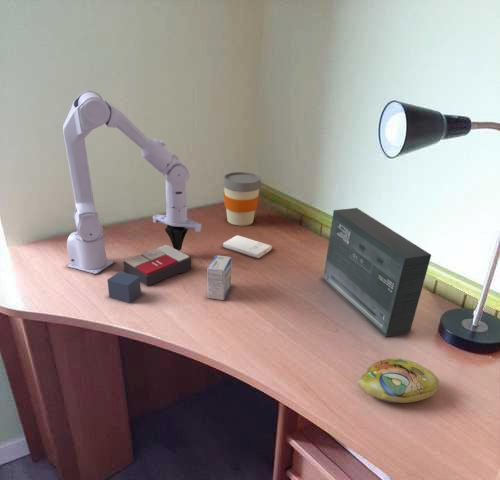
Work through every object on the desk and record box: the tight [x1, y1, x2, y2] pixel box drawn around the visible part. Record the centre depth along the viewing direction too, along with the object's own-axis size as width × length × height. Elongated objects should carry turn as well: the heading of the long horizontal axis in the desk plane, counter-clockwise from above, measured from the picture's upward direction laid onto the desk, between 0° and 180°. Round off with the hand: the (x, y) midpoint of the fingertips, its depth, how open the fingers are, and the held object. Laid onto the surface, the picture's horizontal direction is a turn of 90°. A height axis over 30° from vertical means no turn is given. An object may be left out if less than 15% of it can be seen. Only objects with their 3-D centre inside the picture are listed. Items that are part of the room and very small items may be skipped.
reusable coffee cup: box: [222, 171, 262, 227], centre depth 165 cm, size 13×13×15 cm
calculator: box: [122, 244, 193, 287], centre depth 134 cm, size 11×4×15 cm
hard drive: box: [222, 234, 273, 259], centre depth 150 cm, size 2×8×12 cm
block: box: [106, 270, 142, 304], centre depth 121 cm, size 6×5×5 cm
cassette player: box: [322, 207, 432, 338], centre depth 120 cm, size 29×7×20 cm, turn 22°
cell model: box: [357, 357, 440, 404], centre depth 96 cm, size 11×8×15 cm
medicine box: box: [206, 254, 233, 301], centre depth 124 cm, size 8×4×9 cm, turn 168°
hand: (177, 249), depth 143 cm, fingers closed
